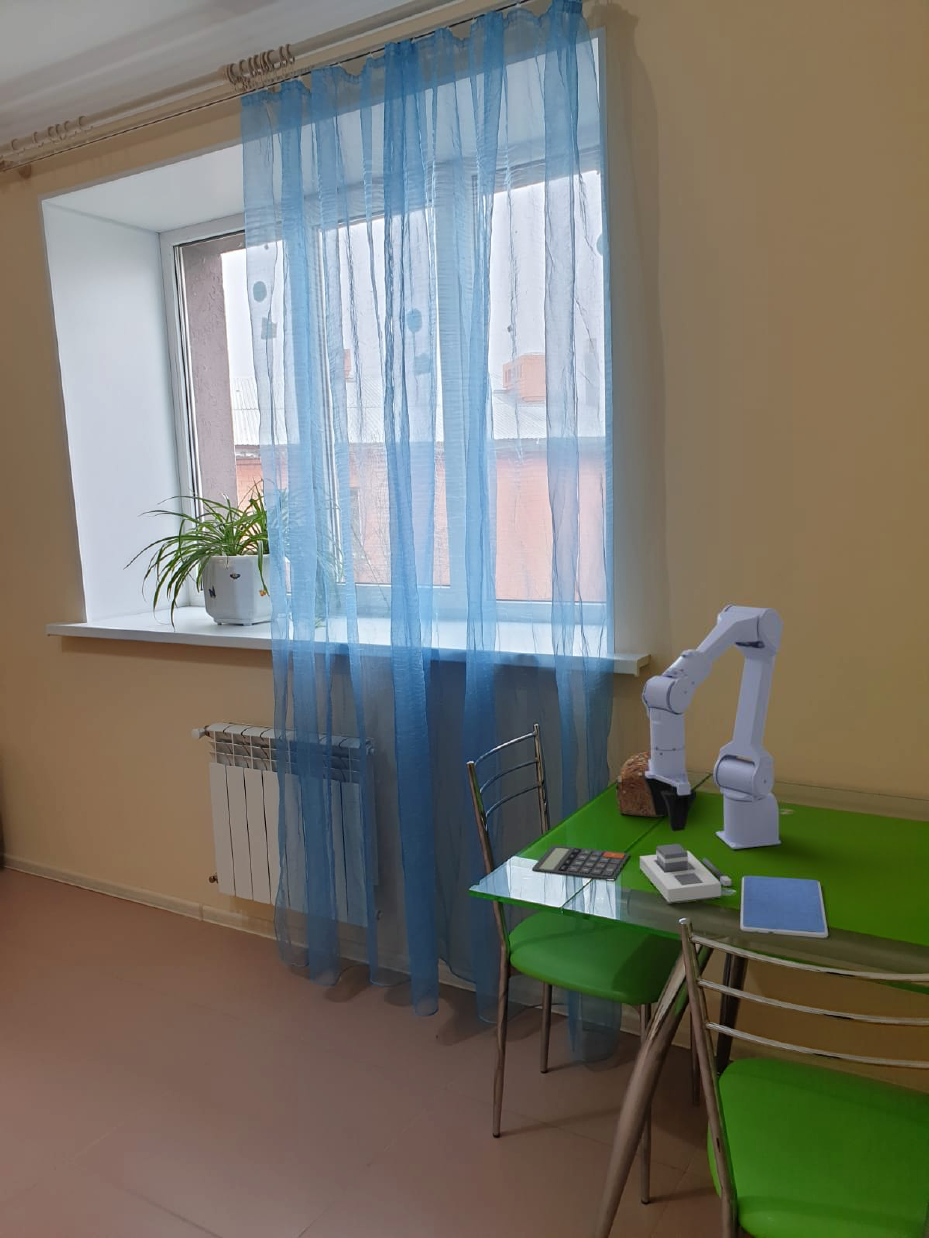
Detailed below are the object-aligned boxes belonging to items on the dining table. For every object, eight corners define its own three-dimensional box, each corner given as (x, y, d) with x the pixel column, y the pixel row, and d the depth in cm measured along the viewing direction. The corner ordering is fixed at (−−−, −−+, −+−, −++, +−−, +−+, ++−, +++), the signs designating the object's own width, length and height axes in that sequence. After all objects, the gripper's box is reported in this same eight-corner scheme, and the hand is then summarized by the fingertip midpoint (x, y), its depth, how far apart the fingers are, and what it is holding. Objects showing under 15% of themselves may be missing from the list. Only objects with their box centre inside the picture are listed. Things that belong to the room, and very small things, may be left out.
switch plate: (688, 864, 170) (688, 850, 169) (721, 898, 156) (721, 882, 156) (640, 870, 169) (639, 855, 168) (668, 904, 155) (668, 888, 155)
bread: (666, 819, 193) (665, 771, 191) (614, 815, 196) (612, 768, 195) (680, 790, 210) (679, 746, 208) (632, 786, 214) (631, 743, 212)
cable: (707, 861, 171) (707, 856, 171) (731, 885, 161) (731, 880, 161) (700, 862, 171) (700, 857, 171) (724, 885, 161) (724, 880, 160)
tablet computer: (828, 941, 141) (828, 933, 141) (740, 934, 145) (739, 926, 145) (820, 886, 160) (820, 879, 160) (741, 881, 163) (741, 874, 163)
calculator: (613, 877, 165) (531, 868, 171) (613, 883, 165) (531, 873, 171) (629, 852, 175) (552, 843, 181) (630, 857, 176) (552, 848, 182)
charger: (679, 870, 167) (678, 843, 166) (688, 880, 163) (687, 852, 162) (656, 873, 166) (656, 845, 165) (665, 883, 162) (664, 855, 161)
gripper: (631, 737, 170) (633, 810, 172) (660, 760, 156) (662, 839, 158) (669, 733, 171) (671, 806, 173) (701, 756, 157) (703, 834, 159)
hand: (669, 821), depth 166 cm, fingers open, 7 cm apart
